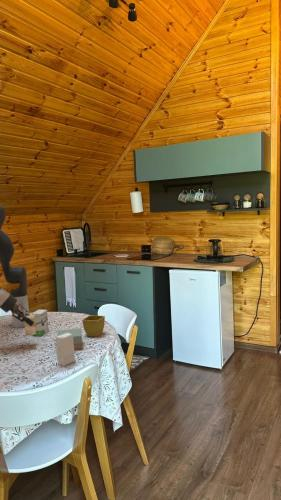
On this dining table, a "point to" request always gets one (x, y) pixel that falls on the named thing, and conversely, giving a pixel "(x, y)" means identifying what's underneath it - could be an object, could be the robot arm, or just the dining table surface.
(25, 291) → the robot arm
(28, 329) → the maple block
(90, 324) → the flower pot
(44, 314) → the ink box
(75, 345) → the tower base slab
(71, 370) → the dining table surface
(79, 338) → the tower top slab
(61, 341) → the skincare box
